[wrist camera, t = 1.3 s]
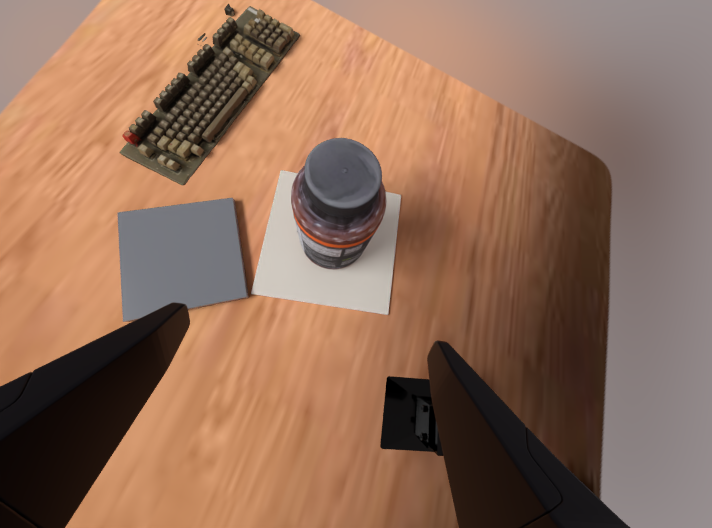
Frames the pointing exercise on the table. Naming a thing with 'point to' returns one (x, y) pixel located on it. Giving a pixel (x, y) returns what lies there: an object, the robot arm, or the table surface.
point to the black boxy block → (409, 416)
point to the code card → (319, 285)
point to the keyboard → (208, 95)
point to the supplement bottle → (338, 202)
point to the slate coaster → (180, 257)
